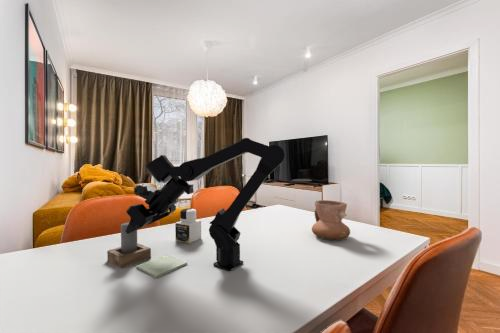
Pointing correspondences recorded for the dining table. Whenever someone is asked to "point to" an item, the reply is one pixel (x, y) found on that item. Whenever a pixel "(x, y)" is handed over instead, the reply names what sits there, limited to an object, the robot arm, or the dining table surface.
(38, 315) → the dining table surface
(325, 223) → the ceramic jug
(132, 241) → the plug
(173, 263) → the green mat
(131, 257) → the walnut collar
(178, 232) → the medicine bottle
